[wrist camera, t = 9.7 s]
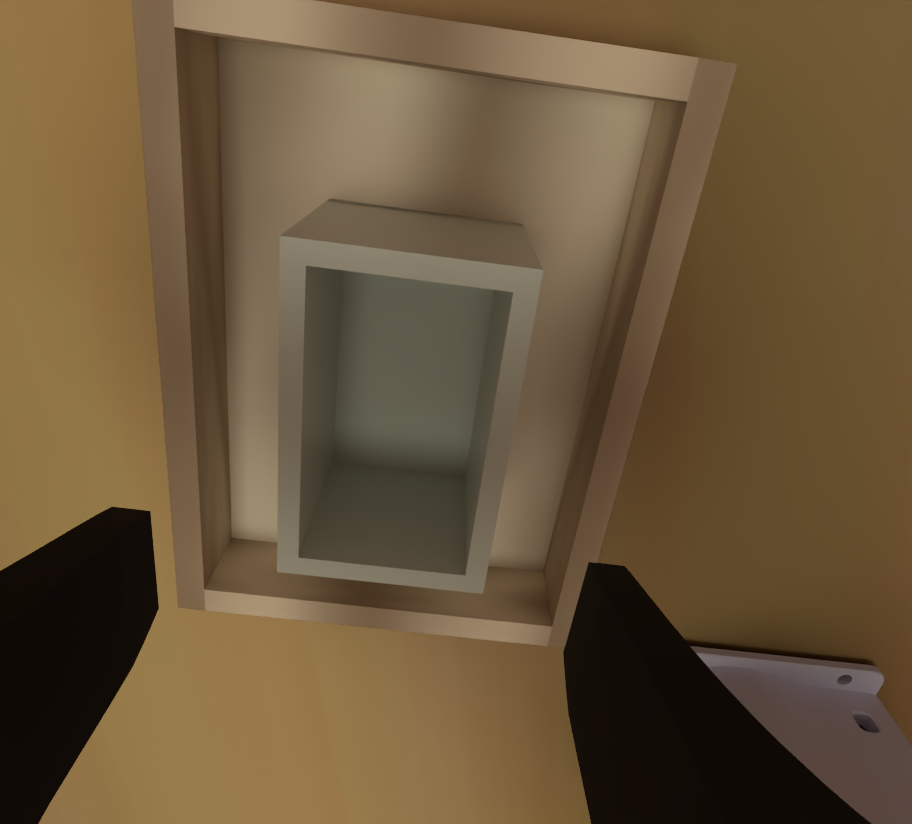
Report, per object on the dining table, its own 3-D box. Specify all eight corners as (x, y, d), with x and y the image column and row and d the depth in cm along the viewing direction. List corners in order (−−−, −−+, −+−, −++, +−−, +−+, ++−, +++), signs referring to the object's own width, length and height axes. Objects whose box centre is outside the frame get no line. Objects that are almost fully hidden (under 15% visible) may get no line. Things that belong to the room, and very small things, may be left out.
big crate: (690, 69, 16) (737, 63, 13) (559, 583, 23) (572, 648, 20) (189, -5, 15) (129, -28, 12) (213, 545, 22) (178, 607, 19)
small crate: (522, 224, 17) (543, 270, 12) (478, 483, 20) (483, 594, 16) (329, 198, 17) (279, 235, 12) (319, 465, 20) (277, 572, 16)
